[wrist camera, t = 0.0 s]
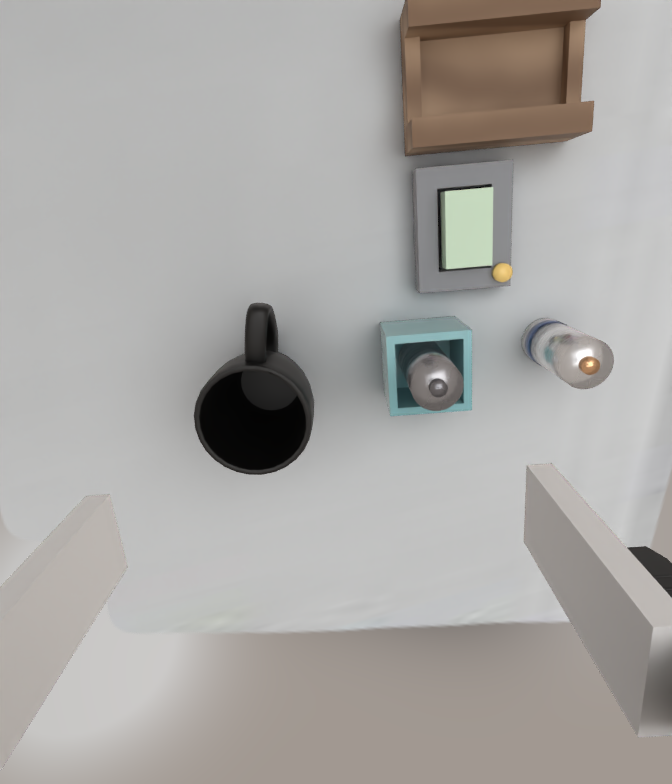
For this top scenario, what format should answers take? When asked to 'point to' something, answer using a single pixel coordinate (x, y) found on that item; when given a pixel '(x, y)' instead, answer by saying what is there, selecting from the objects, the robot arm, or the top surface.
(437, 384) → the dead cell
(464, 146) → the trough
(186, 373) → the top surface
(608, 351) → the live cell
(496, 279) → the frame
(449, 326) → the teal open bin
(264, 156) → the top surface
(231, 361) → the mug
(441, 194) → the pale green block
